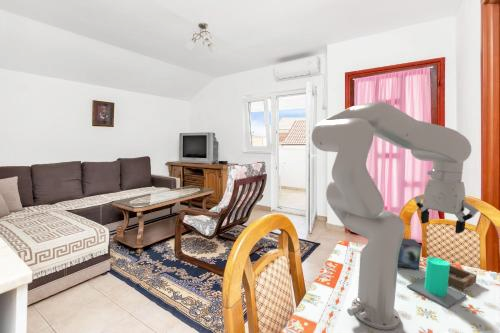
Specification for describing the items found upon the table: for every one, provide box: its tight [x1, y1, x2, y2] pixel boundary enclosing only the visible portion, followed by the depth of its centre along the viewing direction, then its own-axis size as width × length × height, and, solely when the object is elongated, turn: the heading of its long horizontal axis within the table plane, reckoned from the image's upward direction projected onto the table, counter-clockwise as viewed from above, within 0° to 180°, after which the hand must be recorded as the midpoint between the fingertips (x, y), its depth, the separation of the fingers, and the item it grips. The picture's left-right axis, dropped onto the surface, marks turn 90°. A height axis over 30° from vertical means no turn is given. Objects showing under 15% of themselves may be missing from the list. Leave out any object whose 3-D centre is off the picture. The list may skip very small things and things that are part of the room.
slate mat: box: [406, 276, 467, 310], centre depth 81 cm, size 12×12×1 cm
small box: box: [397, 237, 422, 271], centre depth 98 cm, size 11×6×10 cm, turn 77°
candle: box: [424, 256, 451, 296], centre depth 80 cm, size 6×6×12 cm
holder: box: [448, 264, 478, 292], centre depth 88 cm, size 10×10×3 cm
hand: (440, 227), depth 79 cm, fingers open, 9 cm apart
